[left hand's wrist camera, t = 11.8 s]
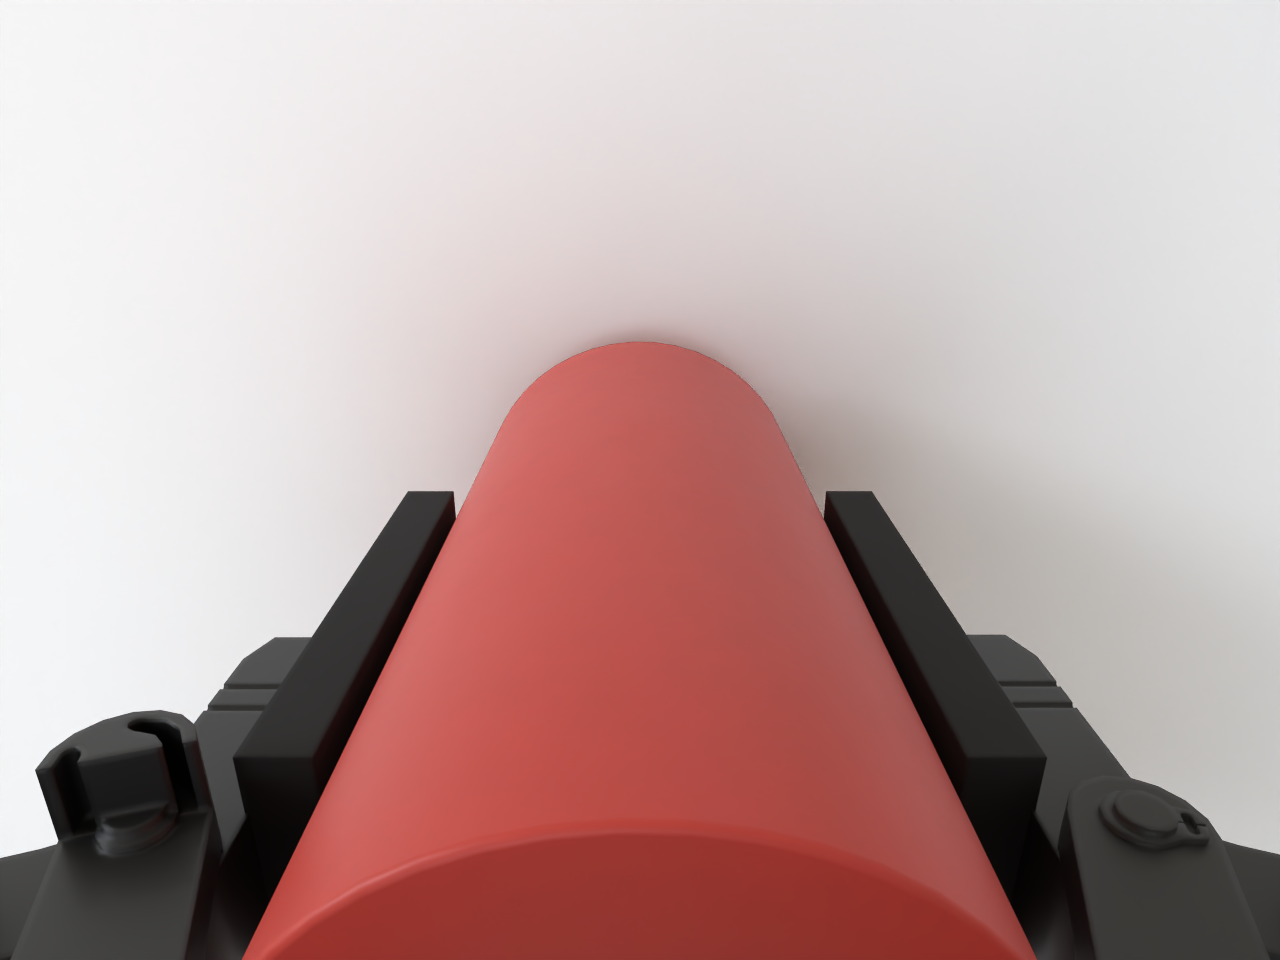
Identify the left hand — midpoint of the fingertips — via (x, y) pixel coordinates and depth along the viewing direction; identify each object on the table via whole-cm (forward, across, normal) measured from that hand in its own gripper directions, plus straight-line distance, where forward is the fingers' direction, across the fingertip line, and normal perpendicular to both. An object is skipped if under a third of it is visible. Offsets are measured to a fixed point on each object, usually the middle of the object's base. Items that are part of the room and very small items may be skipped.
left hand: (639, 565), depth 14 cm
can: (+3, 0, 0) cm, 3 cm away
